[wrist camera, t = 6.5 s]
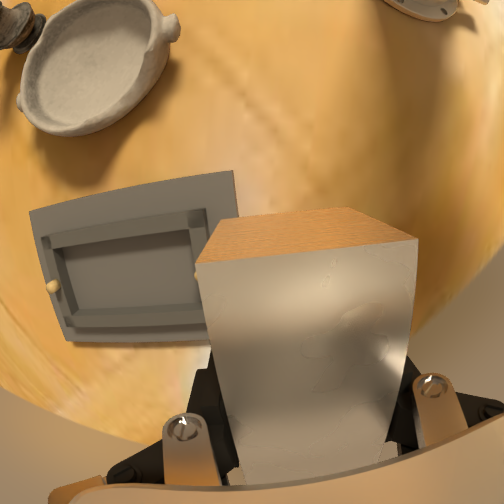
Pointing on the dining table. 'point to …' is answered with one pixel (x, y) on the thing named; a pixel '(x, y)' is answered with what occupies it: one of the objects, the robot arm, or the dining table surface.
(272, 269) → the aluminium bar
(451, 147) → the dining table surface
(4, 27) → the dark grey chess piece
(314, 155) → the dining table surface
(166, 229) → the switch frame
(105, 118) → the dish
